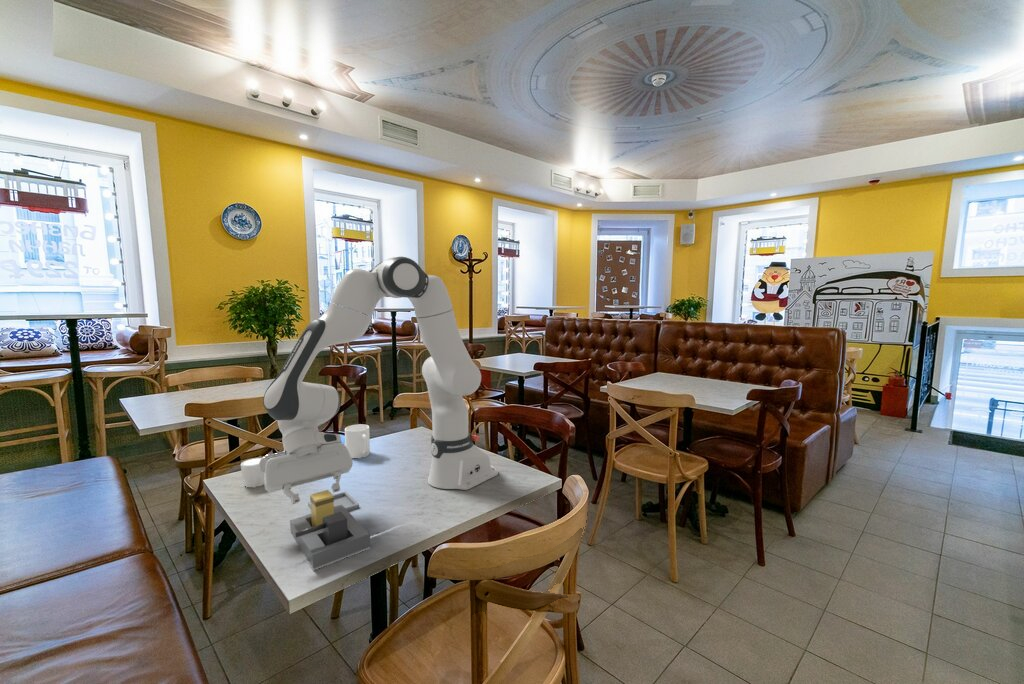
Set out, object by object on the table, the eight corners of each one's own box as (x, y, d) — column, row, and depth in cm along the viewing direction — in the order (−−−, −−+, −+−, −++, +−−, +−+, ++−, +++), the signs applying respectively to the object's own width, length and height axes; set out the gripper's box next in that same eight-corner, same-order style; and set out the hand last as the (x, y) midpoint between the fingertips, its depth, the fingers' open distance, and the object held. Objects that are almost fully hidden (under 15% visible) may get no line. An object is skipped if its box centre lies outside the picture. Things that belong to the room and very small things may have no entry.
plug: (329, 524, 103) (328, 489, 102) (334, 531, 100) (333, 495, 99) (311, 530, 100) (310, 494, 99) (316, 537, 97) (315, 500, 96)
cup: (363, 449, 157) (363, 422, 156) (378, 457, 149) (378, 430, 148) (341, 454, 152) (340, 427, 151) (356, 464, 143) (355, 435, 142)
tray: (345, 496, 119) (345, 491, 119) (359, 509, 112) (358, 504, 112) (308, 507, 113) (307, 502, 113) (319, 521, 105) (319, 516, 105)
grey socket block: (341, 517, 107) (341, 489, 107) (370, 548, 94) (369, 516, 93) (281, 537, 98) (279, 506, 98) (302, 575, 85) (301, 539, 84)
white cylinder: (255, 489, 123) (254, 466, 122) (236, 487, 124) (234, 464, 124) (273, 480, 130) (272, 458, 129) (254, 478, 131) (253, 456, 130)
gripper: (259, 450, 100) (270, 504, 93) (345, 433, 113) (361, 479, 107) (256, 463, 103) (267, 516, 97) (340, 445, 117) (354, 490, 111)
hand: (317, 496), depth 102 cm, fingers open, 8 cm apart
